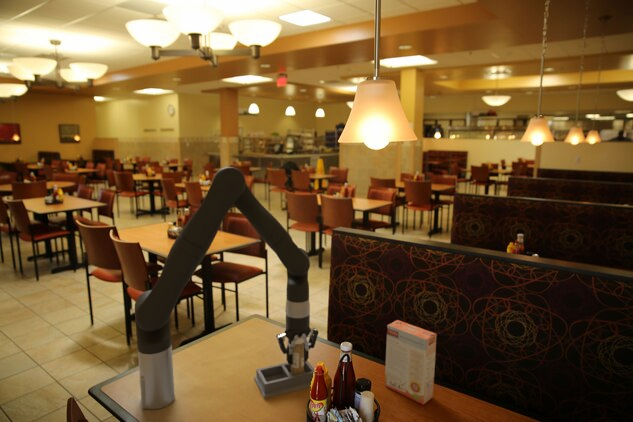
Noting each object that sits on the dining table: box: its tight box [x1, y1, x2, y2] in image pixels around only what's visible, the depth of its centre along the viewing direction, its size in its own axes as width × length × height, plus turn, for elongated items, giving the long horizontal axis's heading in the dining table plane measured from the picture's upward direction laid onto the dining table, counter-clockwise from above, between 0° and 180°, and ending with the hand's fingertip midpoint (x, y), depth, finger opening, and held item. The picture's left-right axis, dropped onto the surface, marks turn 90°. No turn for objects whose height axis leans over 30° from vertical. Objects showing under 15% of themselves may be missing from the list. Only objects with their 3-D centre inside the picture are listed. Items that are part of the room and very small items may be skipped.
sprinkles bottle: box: [291, 336, 304, 376], centre depth 134 cm, size 5×5×14 cm
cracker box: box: [384, 319, 438, 406], centre depth 128 cm, size 14×6×21 cm, turn 45°
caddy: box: [253, 360, 315, 400], centre depth 134 cm, size 18×11×4 cm, turn 114°
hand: (297, 361), depth 135 cm, fingers closed on sprinkles bottle, 4 cm apart
